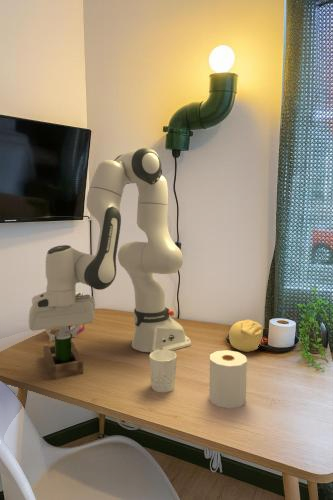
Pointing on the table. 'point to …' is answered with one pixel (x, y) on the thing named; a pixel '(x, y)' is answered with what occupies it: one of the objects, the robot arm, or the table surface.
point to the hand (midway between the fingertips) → (63, 339)
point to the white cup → (163, 370)
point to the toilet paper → (228, 378)
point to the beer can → (63, 347)
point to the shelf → (64, 368)
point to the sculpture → (246, 335)
